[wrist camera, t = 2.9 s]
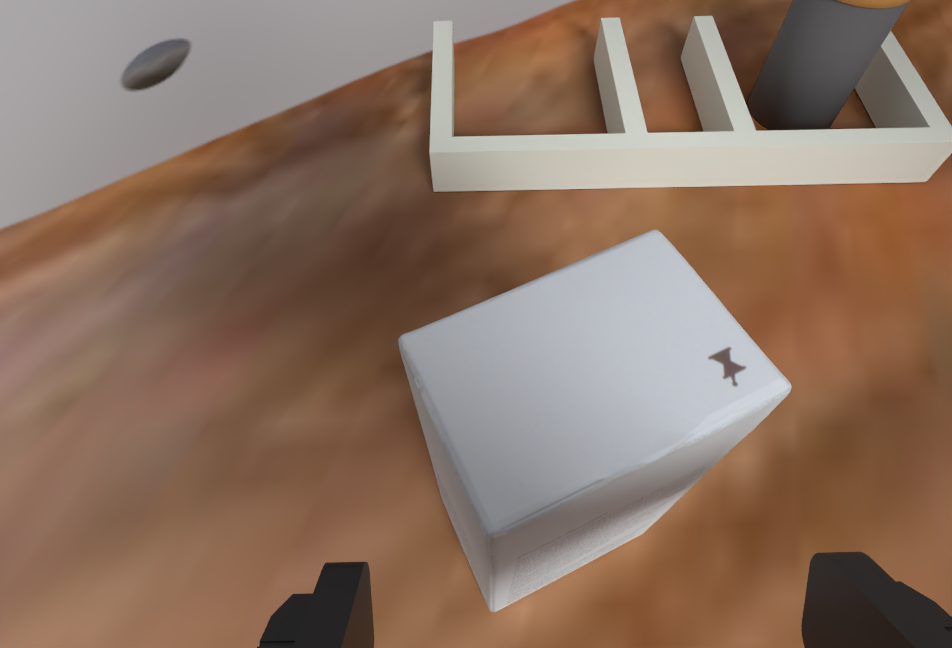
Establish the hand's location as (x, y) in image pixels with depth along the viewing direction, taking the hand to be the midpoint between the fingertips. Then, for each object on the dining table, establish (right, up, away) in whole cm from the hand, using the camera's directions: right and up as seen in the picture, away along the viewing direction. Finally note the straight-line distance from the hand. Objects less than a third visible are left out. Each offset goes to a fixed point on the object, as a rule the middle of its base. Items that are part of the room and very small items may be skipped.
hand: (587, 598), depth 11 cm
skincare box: (0, -2, +10) cm, 10 cm away
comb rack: (+8, +16, +21) cm, 28 cm away
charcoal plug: (+15, +16, +21) cm, 30 cm away
